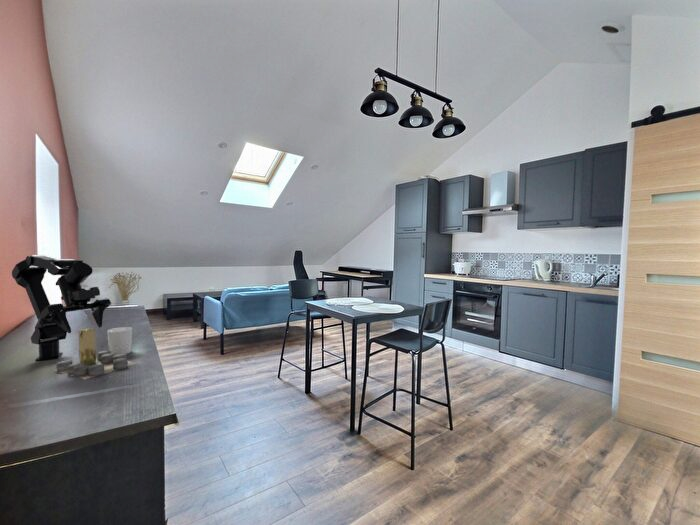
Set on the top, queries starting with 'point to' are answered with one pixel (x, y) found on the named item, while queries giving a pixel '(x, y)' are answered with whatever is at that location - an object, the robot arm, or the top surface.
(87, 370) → the spacer board
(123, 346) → the white cup
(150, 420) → the top surface
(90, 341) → the brass post
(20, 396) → the top surface
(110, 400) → the top surface
